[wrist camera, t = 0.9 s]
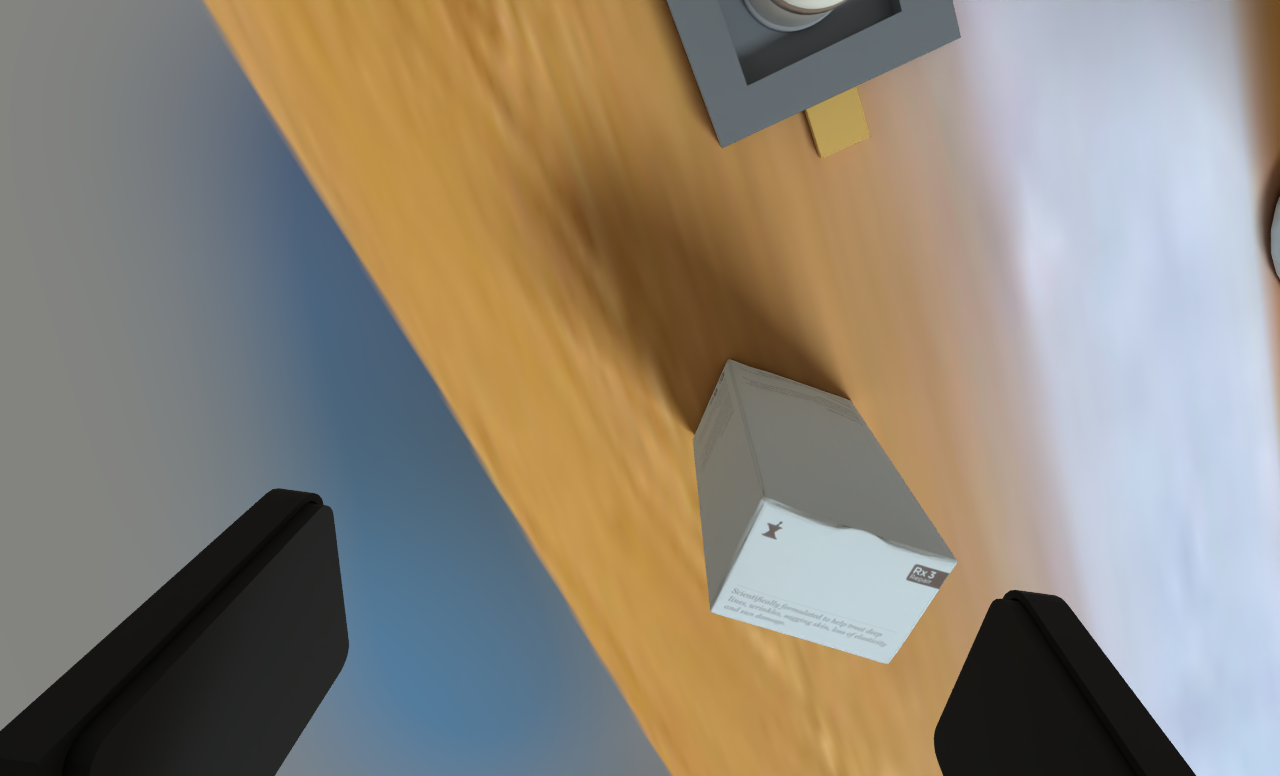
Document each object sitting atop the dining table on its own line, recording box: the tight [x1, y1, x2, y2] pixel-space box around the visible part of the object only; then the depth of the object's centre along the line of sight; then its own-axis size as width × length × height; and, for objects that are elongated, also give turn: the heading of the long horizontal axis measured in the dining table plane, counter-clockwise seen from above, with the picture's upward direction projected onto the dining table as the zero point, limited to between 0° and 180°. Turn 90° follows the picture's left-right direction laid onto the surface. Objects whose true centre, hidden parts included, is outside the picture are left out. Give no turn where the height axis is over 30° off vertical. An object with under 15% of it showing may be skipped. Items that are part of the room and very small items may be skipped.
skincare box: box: [693, 359, 957, 664], centre depth 30 cm, size 8×6×15 cm
